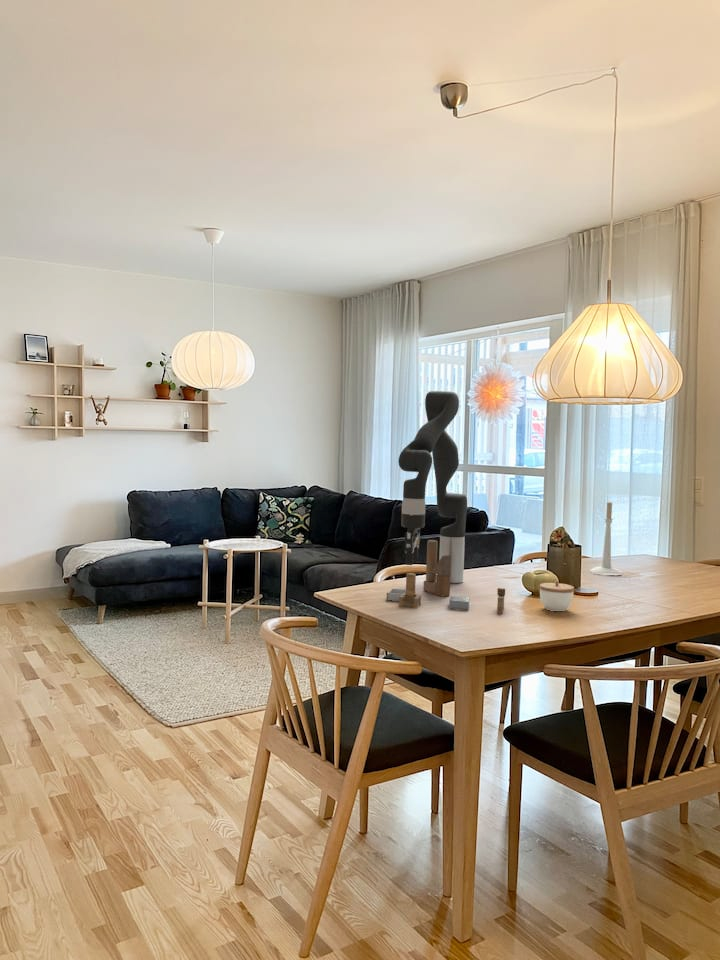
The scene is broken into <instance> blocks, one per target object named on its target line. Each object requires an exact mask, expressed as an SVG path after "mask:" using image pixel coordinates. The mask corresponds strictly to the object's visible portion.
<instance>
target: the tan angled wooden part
mask: <svg viewBox="0 0 720 960" xmlns="http://www.w3.org/2000/svg"><path fill="white" fill-rule="evenodd" d="M426 544H427V545H426V565H425V566H426V567H425V569H426V571H425V580H423V588H422V589H423V592H426V591H427V592H426V593H429V592H430V594H432V593H433V594H432V595H435V594H436V595H435V596H438V595H439V597H441V596H445V597H449V596H451V593H450V591H451V583H450V575H451V555H446V556H442V558H441V559H440V560H438V545H439V543H438V540H435V539H429V540H427V543H426Z"/></svg>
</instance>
